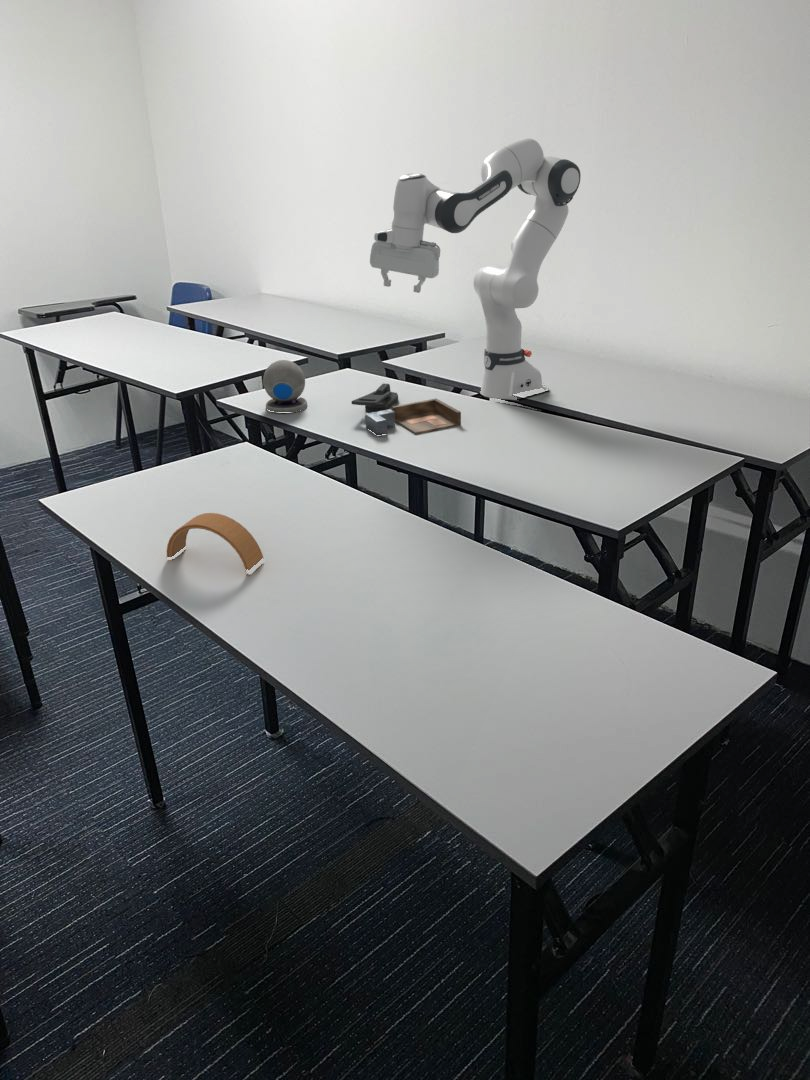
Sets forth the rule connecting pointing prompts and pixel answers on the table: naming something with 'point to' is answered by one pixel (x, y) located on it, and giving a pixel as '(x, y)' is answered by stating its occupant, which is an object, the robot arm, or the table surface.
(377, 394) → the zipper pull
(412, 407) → the corner arena
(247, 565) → the arch
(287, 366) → the webcam
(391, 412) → the angle bracket
